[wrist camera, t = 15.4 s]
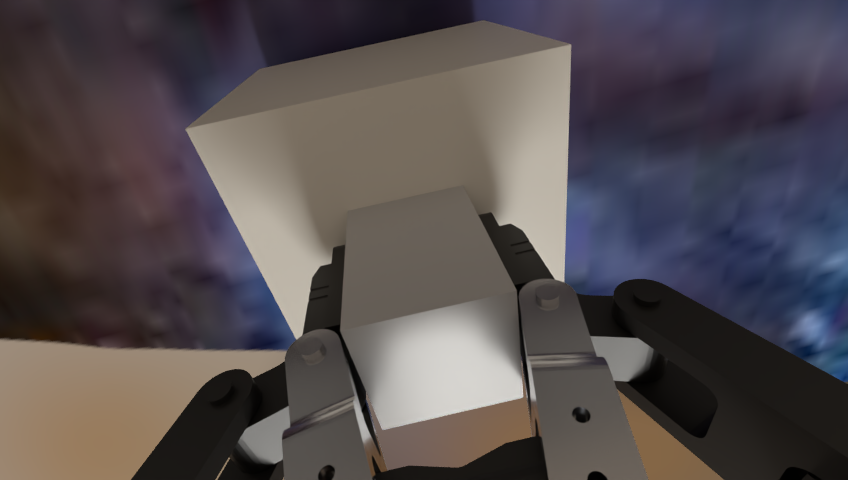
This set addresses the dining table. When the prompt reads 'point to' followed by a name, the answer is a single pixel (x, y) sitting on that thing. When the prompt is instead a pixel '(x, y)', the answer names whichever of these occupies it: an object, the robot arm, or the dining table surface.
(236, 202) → the cream open-backed crate
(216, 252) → the dining table surface
